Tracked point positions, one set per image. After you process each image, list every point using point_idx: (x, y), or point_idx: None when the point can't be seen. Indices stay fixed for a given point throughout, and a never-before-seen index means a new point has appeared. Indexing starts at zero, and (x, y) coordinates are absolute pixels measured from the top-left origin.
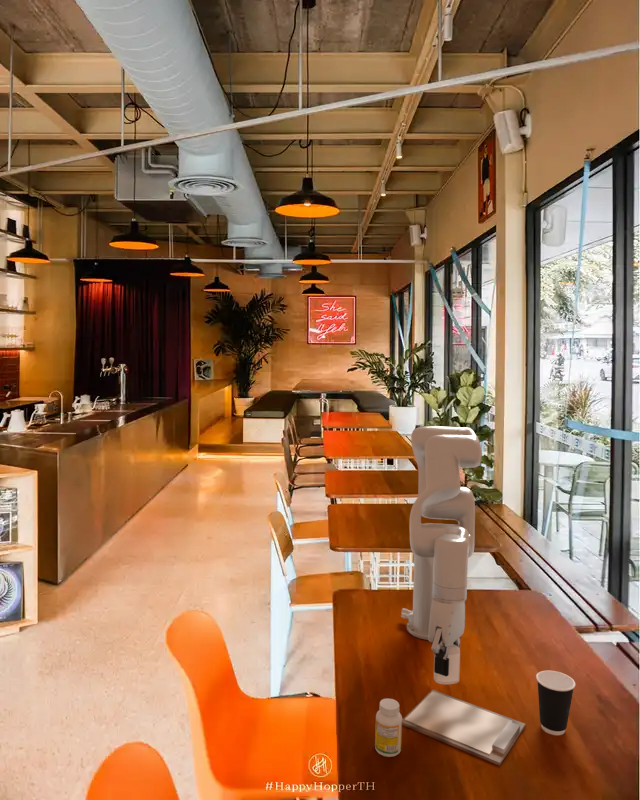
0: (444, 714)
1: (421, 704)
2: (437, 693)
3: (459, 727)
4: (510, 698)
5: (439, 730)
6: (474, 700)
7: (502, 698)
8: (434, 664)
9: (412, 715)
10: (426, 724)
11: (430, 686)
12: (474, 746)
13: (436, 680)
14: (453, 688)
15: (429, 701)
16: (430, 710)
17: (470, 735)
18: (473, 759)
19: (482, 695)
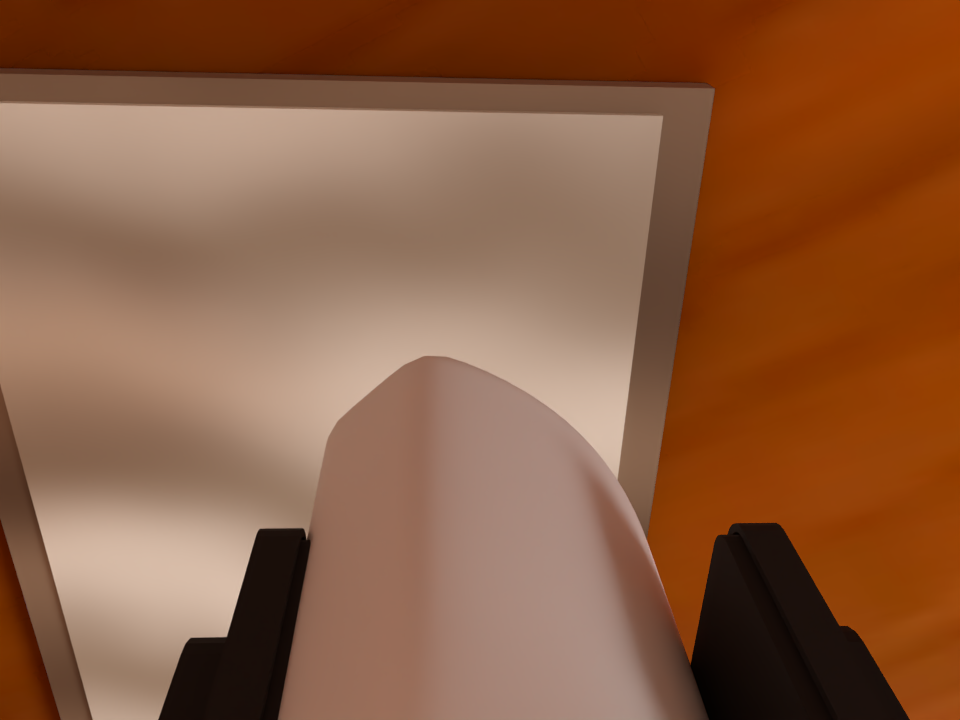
0: (322, 388)
1: (319, 129)
2: (646, 181)
3: (231, 548)
4: (923, 647)
5: (58, 449)
6: (759, 465)
7: (897, 609)
8: (362, 535)
9: (54, 142)
10: (43, 323)
11: (819, 5)
12: (101, 689)
13: (326, 450)
14: (888, 242)
15: (436, 177)
16: (287, 256)
17: (201, 633)
18: (19, 689)
19: (876, 488)
